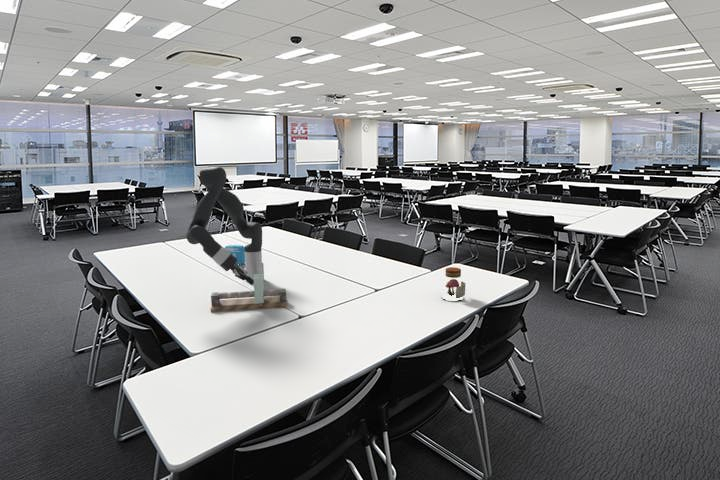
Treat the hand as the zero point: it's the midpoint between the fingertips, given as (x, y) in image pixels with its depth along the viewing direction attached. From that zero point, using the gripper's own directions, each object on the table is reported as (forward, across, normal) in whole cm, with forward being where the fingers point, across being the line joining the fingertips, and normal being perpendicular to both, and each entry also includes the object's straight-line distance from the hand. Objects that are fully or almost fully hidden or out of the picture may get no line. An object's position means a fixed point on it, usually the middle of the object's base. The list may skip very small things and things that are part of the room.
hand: (253, 283), depth 209 cm
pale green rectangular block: (+8, 0, +4) cm, 9 cm away
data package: (-3, +85, +19) cm, 87 cm away
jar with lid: (+75, -9, -60) cm, 97 cm away
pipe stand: (+6, 0, +9) cm, 11 cm away
